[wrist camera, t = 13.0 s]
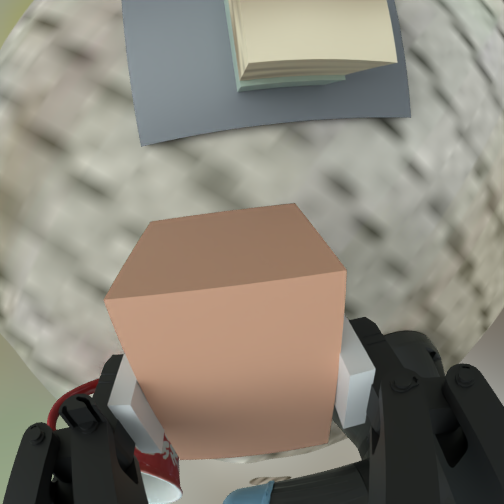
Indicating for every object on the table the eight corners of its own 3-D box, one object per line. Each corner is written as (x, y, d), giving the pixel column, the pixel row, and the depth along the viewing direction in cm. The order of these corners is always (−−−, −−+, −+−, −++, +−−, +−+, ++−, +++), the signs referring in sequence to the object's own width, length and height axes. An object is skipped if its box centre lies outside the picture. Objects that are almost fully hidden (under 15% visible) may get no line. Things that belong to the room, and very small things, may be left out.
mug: (202, 368, 30) (200, 487, 18) (170, 411, 33) (162, 511, 21) (87, 317, 27) (35, 429, 15) (71, 370, 30) (35, 466, 17)
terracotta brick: (299, 350, 16) (327, 442, 11) (187, 364, 16) (180, 459, 10) (294, 203, 13) (346, 270, 7) (150, 221, 13) (103, 299, 7)
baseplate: (401, 116, 22) (441, 121, 17) (146, 144, 21) (124, 153, 16) (378, -24, 16) (411, -46, 11) (126, -9, 16) (103, -36, 11)
